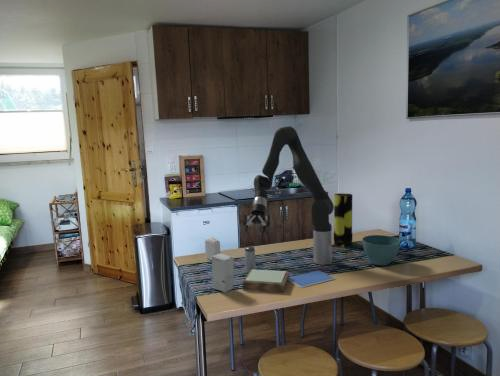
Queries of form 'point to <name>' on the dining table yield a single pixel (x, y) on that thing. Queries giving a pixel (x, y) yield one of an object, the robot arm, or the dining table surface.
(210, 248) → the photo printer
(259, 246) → the dining table surface
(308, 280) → the blue notebook
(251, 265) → the ceramic jar
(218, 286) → the skincare box
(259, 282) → the plinth
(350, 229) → the container
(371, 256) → the plant pot
